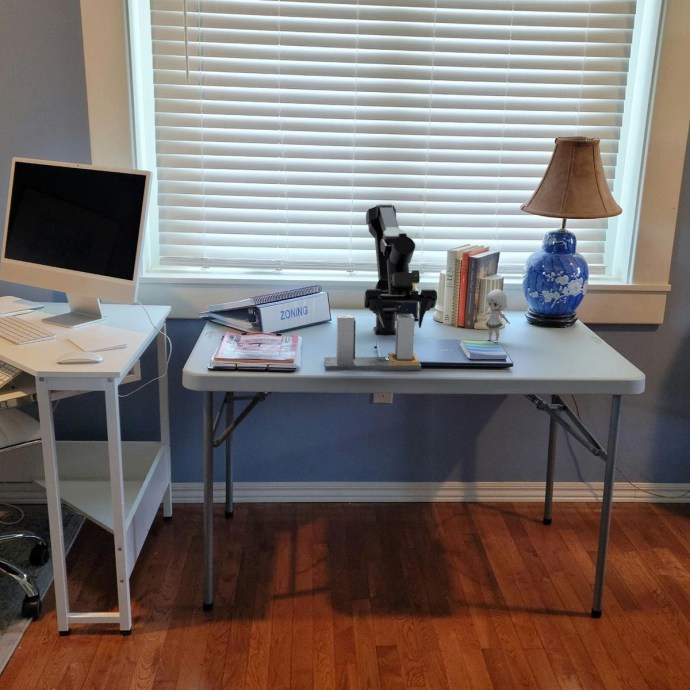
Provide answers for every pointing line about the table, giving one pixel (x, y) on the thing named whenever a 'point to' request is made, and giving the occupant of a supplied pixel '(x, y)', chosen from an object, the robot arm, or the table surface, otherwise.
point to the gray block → (404, 337)
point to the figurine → (495, 311)
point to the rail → (350, 362)
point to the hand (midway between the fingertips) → (402, 327)
